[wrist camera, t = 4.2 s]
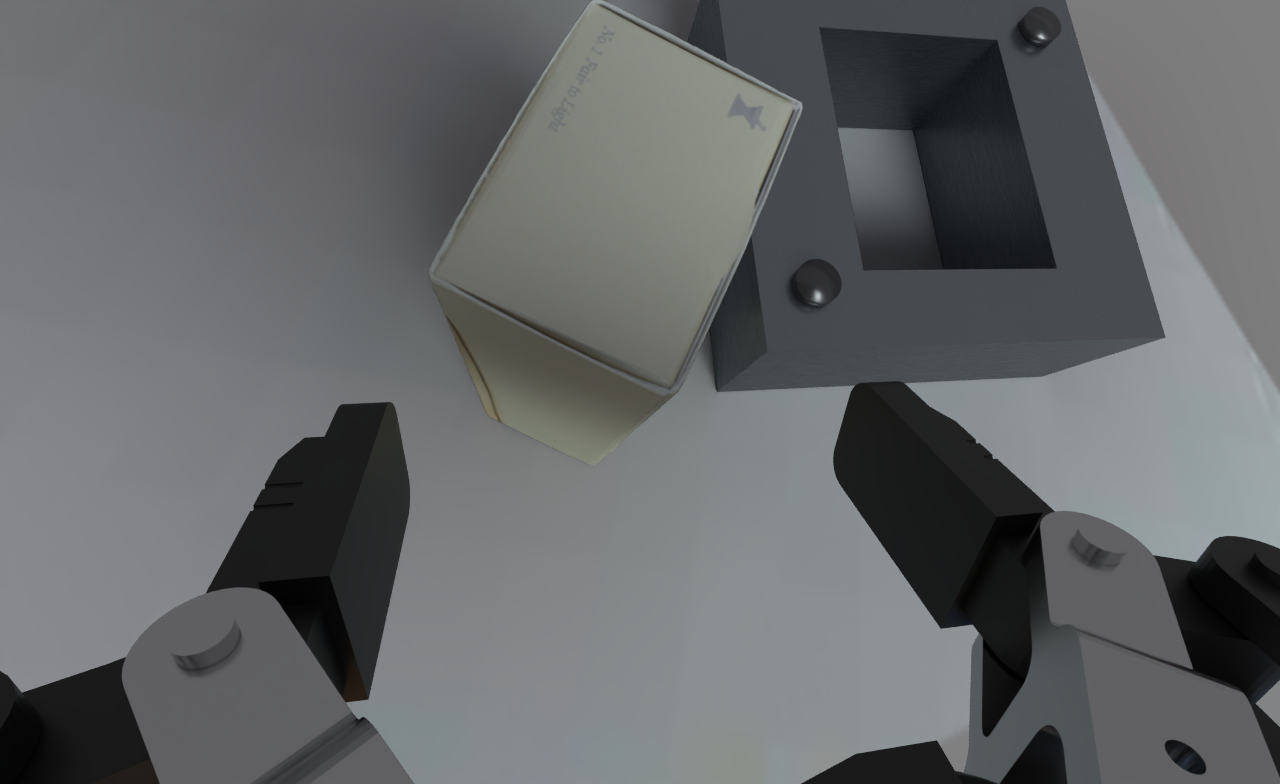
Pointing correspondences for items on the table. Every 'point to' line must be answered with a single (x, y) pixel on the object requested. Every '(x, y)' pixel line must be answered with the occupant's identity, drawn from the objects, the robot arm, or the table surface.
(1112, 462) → the table surface
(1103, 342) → the housing
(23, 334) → the table surface
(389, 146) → the table surface
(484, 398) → the skincare box
